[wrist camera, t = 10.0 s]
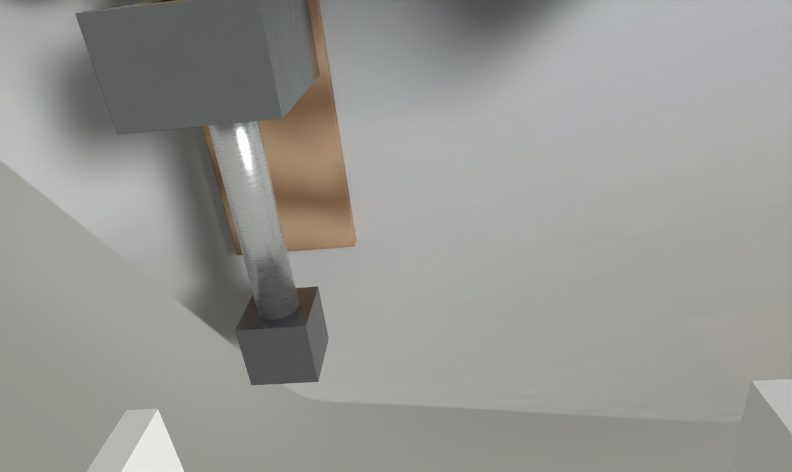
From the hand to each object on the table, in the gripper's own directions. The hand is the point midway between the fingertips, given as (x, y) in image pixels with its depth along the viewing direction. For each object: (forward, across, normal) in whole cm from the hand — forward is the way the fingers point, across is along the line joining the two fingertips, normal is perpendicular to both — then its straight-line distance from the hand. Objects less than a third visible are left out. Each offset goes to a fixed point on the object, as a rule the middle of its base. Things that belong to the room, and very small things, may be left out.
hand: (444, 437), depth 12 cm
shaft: (+26, -12, -4) cm, 29 cm away
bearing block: (+30, -12, +6) cm, 33 cm away
